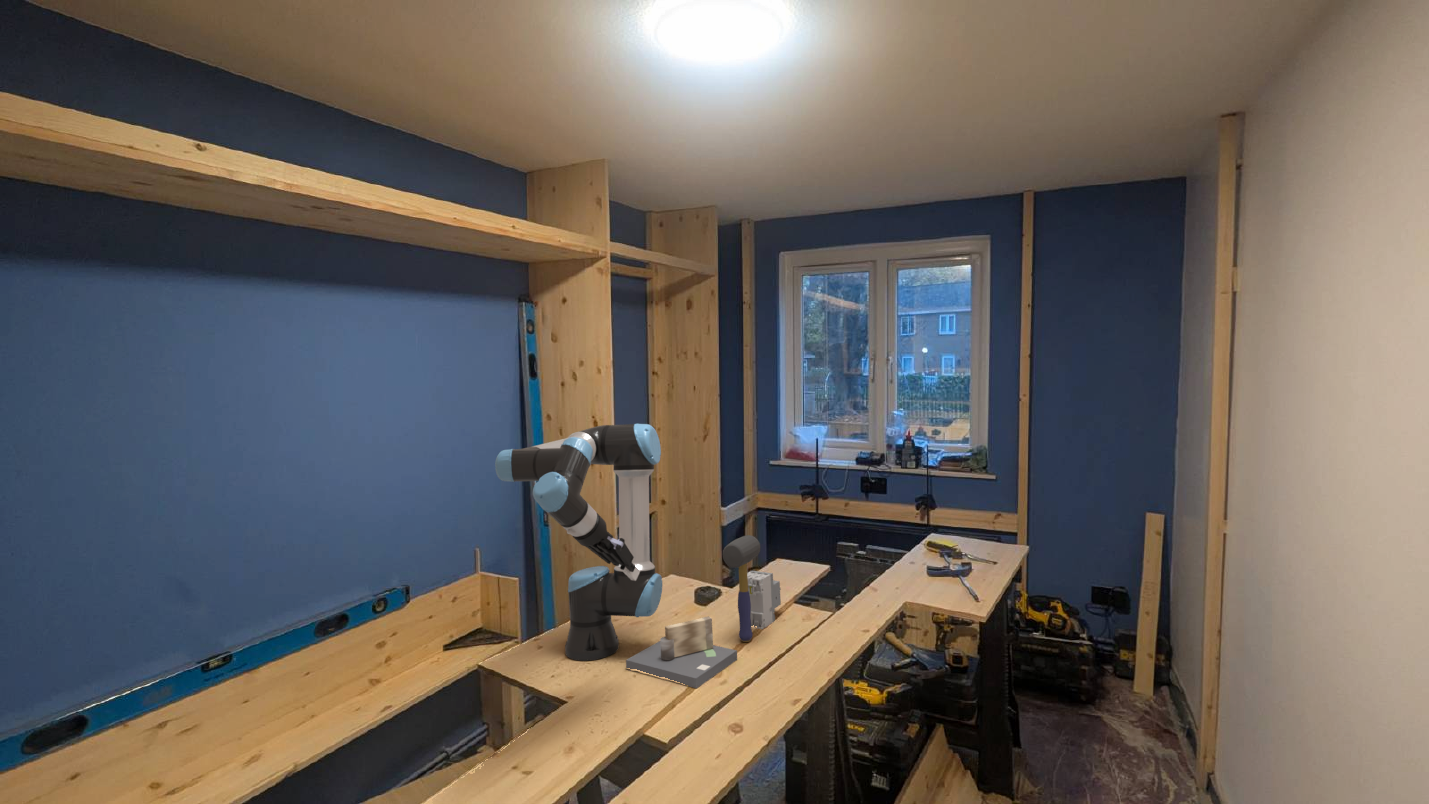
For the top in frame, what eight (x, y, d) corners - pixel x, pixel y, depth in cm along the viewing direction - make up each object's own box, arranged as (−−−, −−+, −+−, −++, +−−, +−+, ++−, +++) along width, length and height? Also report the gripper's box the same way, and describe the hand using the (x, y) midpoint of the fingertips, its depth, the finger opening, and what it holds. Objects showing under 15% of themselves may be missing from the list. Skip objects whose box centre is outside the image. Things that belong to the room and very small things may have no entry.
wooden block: (664, 661, 167) (662, 630, 167) (659, 656, 170) (657, 626, 170) (714, 648, 174) (713, 619, 173) (708, 644, 177) (707, 615, 177)
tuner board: (626, 669, 170) (625, 659, 170) (670, 643, 185) (669, 635, 185) (696, 688, 157) (696, 678, 157) (737, 659, 173) (736, 650, 172)
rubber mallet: (748, 651, 178) (743, 544, 177) (724, 647, 181) (719, 542, 181) (766, 635, 189) (761, 534, 188) (743, 631, 192) (739, 532, 192)
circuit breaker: (783, 614, 205) (781, 568, 205) (762, 629, 193) (760, 580, 193) (763, 611, 209) (760, 565, 209) (741, 625, 197) (739, 577, 197)
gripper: (556, 535, 147) (609, 585, 161) (597, 541, 140) (649, 592, 154) (571, 508, 151) (622, 559, 166) (612, 512, 144) (662, 565, 158)
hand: (635, 575), depth 160 cm, fingers closed
